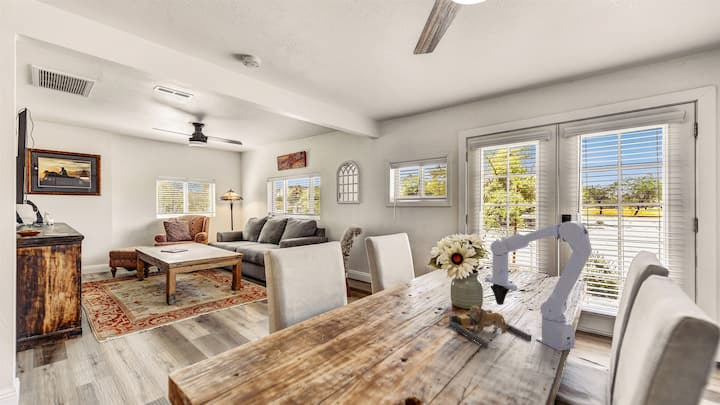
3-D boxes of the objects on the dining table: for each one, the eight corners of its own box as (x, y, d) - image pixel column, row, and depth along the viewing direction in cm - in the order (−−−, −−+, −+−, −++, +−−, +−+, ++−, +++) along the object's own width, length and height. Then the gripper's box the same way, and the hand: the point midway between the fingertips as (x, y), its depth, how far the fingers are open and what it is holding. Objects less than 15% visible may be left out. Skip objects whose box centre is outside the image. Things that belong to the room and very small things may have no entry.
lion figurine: (471, 331, 118) (471, 307, 118) (468, 325, 123) (468, 303, 123) (511, 333, 116) (511, 309, 116) (506, 327, 121) (506, 305, 121)
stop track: (531, 340, 110) (531, 329, 110) (485, 348, 104) (485, 336, 104) (489, 319, 130) (489, 309, 130) (448, 325, 123) (448, 315, 123)
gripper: (523, 273, 116) (522, 309, 116) (494, 265, 129) (494, 297, 129) (508, 274, 113) (508, 311, 113) (481, 266, 127) (480, 299, 127)
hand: (499, 304), depth 121 cm, fingers closed
